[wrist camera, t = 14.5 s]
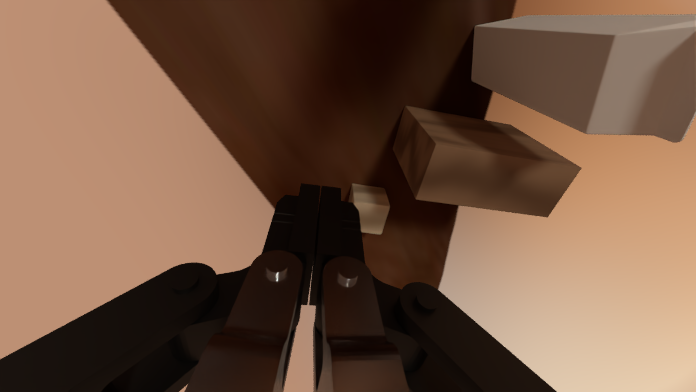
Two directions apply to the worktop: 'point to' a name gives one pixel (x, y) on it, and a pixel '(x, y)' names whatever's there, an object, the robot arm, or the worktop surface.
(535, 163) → the walnut panel
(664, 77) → the milk
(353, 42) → the worktop surface
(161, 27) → the worktop surface
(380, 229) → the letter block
